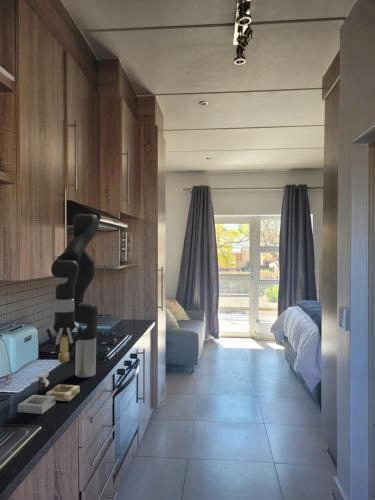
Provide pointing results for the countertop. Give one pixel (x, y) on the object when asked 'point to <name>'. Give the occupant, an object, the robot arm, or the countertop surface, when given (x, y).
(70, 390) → the rack block
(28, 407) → the socket block
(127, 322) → the countertop surface
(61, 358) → the brass peg
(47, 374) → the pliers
